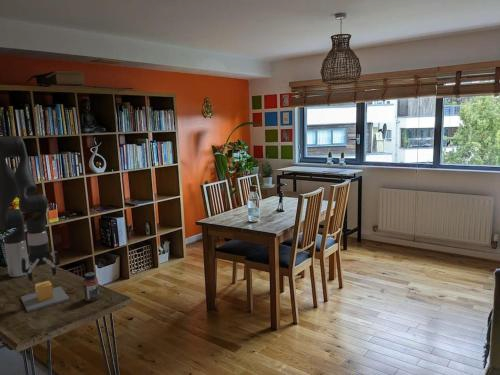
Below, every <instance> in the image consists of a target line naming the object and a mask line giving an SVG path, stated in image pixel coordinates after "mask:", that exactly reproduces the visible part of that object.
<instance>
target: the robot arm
mask: <svg viewBox="0 0 500 375" xmlns="http://www.w3.org/2000/svg"><path fill="white" fill-rule="evenodd" d="M18 157H19V163H18V165H17V167H16V169H15V171H14V170H13V169H12V168H11V167H10V165H9V164H8V163H7V160H6V159H8V158H18ZM31 169H32V168H31V165H30V160H29V156H28V152H27V147H26V144H25V142H24V139H23V138H22V137H21V136H20V135H19V136H18V135H16V136H15V135H13V136H12V135H11V136H0V230H5V231H6V230H11V229H14V230H13V231H12V232H10V233H9V234H7V235H5V236H4V237H3V243H4V244H3V245H4V249H5V257H6V264H7V271H8V276H9V277H12V278H17V277H21V276H25V275H27V279H28V281H29V282H33V281H34V280H33V274H32V271H33V270H34V269H35V267H39V266H45V265H47V264H48V265H49V266H50V269H51V275H52V276H53V277H55V276H56V274H57V270H56V269H57V268H56V267H57V266H60V265H61V263H60V256H59V253H58V251H56V250H54V251H53V252H50V245H49V237H48V233H47V227H46V226H47V225H46V217H47V210H48V205H49V201H48V197H46V195H44V194H42V193H41V194H35V193H36V192H37V191H38V186H37V184H36V181H35V179H34V178H35V177H34V176H33V173H32V170H31ZM17 198H18V208H15V209H9V208H10V206H11V205H12V203H14V201H15V200H16V199H17ZM31 213H33V214H34V213H36V214H35V215H34V216H32V217H30V218H27V219H26V222H25V221H24V220H25V219H24V214H31ZM25 224H26V225H25ZM25 226H26V232H25ZM26 233H27V234H26ZM26 235H27V236H26ZM26 238H27V242H26ZM27 246H28V247H27ZM28 254H29V255H28ZM51 257H53V258H54V260H55V261H54V262H52V261H51V260H50V258H51ZM29 262H30V263H29Z"/></svg>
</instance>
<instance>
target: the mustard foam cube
mask: <svg viewBox="0 0 500 375" xmlns="http://www.w3.org/2000/svg"><path fill="white" fill-rule="evenodd" d="M52 288H53V284H52V282H51V281H50V280H46V281H43V282H37V283H35V284H34V290H35V293H36V297H37V299H38V301H39V302H40V301H43V300H47V299H50V298H53V289H52Z"/></svg>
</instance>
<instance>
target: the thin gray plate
mask: <svg viewBox="0 0 500 375" xmlns="http://www.w3.org/2000/svg"><path fill="white" fill-rule="evenodd" d="M52 289H53V298H50V299H47V300H43V301H40V302H39V301H38V299H37V297H36V292H34V293H29V294H26V295H23V296H20V298H21V301H22V303H23V306H24V307H25V310H26V312H27V313H29V312H33V311H37V310H40V309H45V308H48V307H51V306H54V305H58V304H62V303H65V302H68V301H69V302H70V299H71V298H70V297H69V295H68V294H67V293H66V292H65V290H64V289H63V288H62V286H57V287H52Z"/></svg>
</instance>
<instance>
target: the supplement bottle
mask: <svg viewBox="0 0 500 375" xmlns="http://www.w3.org/2000/svg"><path fill="white" fill-rule="evenodd" d="M82 284H83V285H82V286H83V295H84V300H85V301H86V302H94V301H97V300H98V299H99V298H100V296H101V295H100V286H99V279H98V277H97V276H96V273H95V272H91V271H90V272H86V273H85V274H84V279H83V280H82Z"/></svg>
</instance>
